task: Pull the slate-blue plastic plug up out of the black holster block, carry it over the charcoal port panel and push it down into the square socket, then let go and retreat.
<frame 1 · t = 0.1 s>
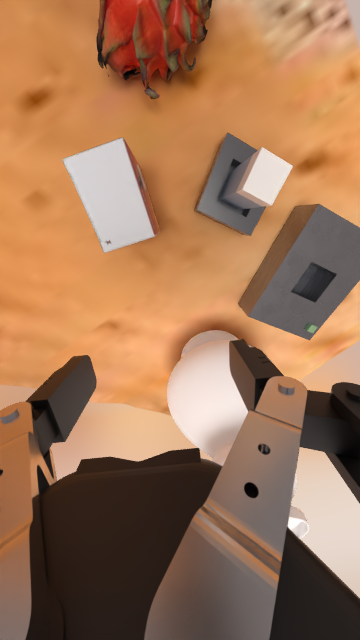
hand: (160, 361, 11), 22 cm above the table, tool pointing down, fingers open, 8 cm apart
small box: (132, 207, 27), on the table
plug: (234, 192, 26), resting on holster
port: (293, 274, 32), on the table
dragon fruit: (155, 48, 21), on the table
holster: (233, 192, 27), on the table
decorative vase: (211, 356, 39), on the table
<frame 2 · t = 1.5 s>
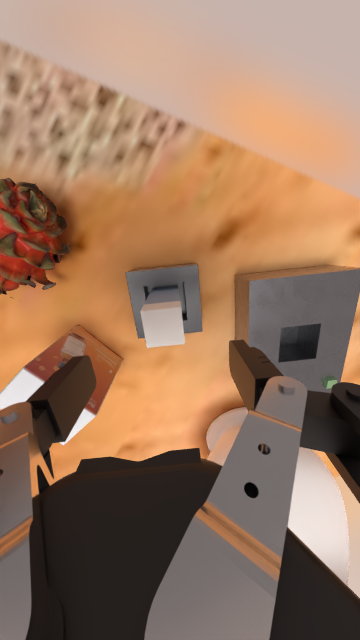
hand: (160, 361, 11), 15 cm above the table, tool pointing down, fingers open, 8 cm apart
small box: (90, 353, 28), on the table
plug: (166, 298, 25), resting on holster
port: (277, 327, 28), on the table
dragon fruit: (41, 244, 23), on the table
holster: (166, 297, 26), on the table
decorative vase: (241, 433, 35), on the table
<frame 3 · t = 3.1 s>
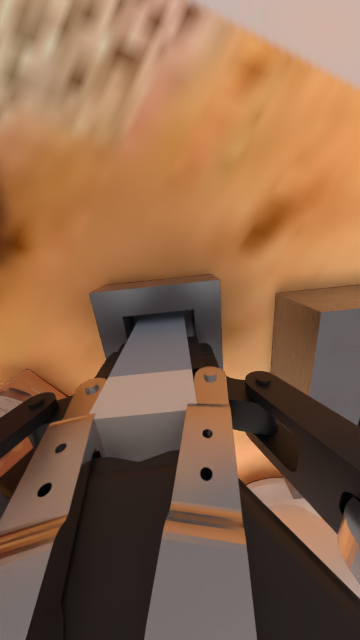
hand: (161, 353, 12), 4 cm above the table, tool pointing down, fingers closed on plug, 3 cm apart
small box: (49, 408, 19), on the table
plug: (164, 330, 16), point 1 cm above the table, touching gripper
port: (335, 372, 18), on the table
holster: (164, 328, 16), on the table
decorative vase: (268, 508, 25), on the table
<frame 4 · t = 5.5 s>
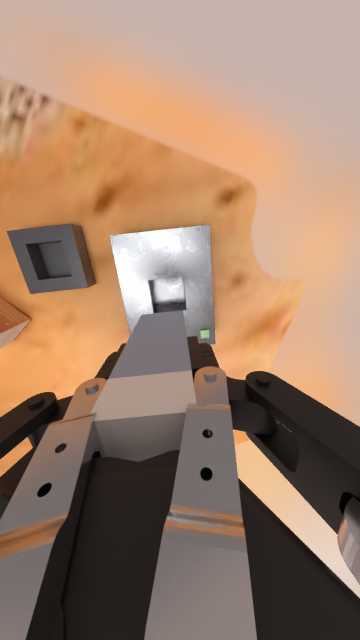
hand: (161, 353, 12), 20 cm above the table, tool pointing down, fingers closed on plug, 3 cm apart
small box: (1, 313, 31), on the table
plug: (164, 331, 16), point 16 cm above the table, touching gripper
port: (168, 288, 31), on the table
holster: (61, 259, 29), on the table
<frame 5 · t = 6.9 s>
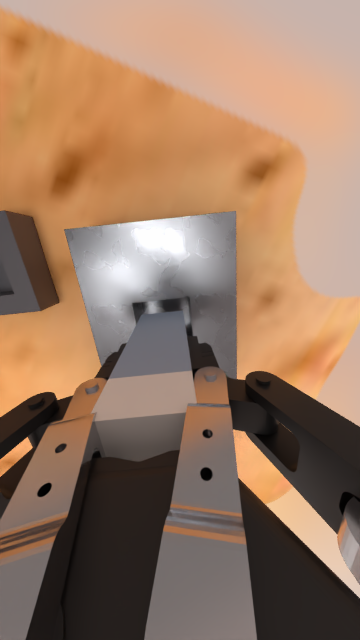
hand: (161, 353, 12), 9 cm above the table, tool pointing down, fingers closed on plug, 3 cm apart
plug: (164, 331, 16), point 6 cm above the table, touching gripper
port: (166, 309, 21), on the table
holster: (5, 267, 19), on the table
when the fingers open (6 cm above the table, at t = 7.9 s): plug drops 1 cm, resting on port.
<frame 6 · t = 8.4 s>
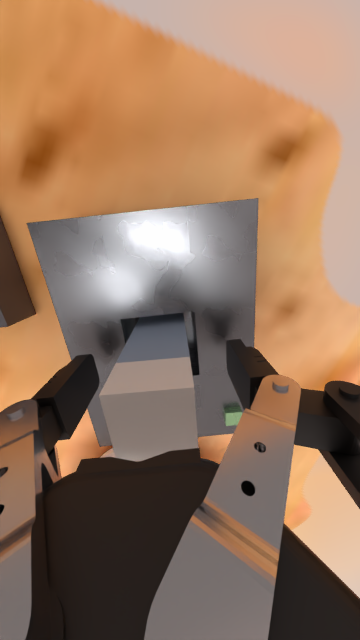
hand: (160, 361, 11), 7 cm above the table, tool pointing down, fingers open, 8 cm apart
plug: (165, 326, 16), point 1 cm above the table, touching port
port: (165, 322, 17), on the table
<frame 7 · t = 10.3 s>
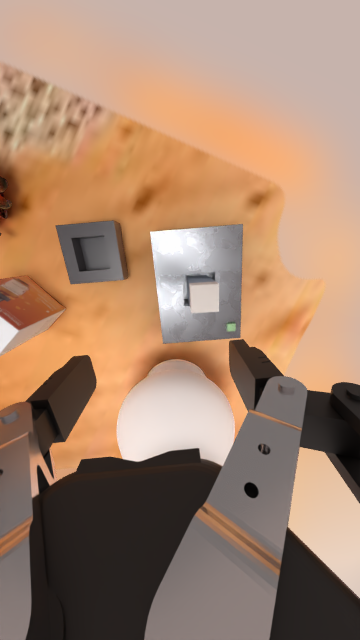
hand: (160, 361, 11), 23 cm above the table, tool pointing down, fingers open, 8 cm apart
small box: (38, 302, 33), on the table
plug: (196, 285, 32), point 1 cm above the table, touching port
port: (196, 284, 33), on the table
holster: (99, 253, 31), on the table
decorative vase: (176, 386, 39), on the table
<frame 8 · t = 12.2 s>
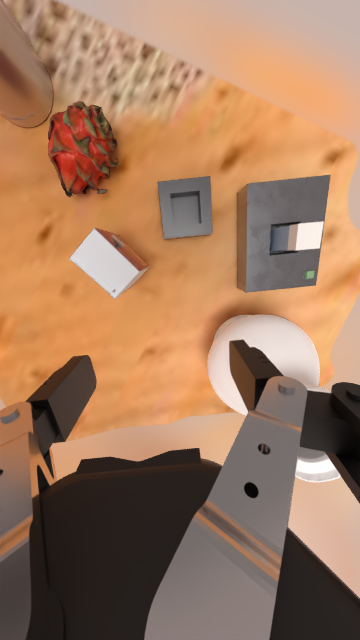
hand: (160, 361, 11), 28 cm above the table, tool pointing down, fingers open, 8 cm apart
small box: (124, 261, 36), on the table
plug: (272, 240, 35), point 1 cm above the table, touching port
port: (269, 240, 36), on the table
dragon fruit: (93, 166, 31), on the table
holster: (185, 212, 34), on the table
decorative vase: (241, 341, 42), on the table
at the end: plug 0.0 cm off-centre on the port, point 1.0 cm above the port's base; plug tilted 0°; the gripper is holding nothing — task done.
